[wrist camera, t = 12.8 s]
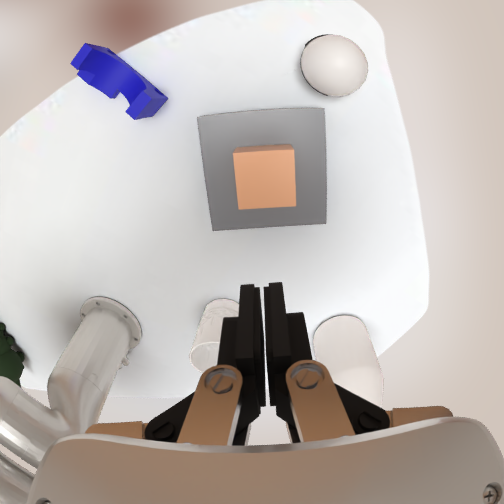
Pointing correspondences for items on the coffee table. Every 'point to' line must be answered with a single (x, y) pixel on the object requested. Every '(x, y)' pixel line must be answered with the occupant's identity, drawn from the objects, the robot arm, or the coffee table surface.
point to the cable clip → (118, 80)
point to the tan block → (265, 176)
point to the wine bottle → (350, 357)
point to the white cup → (211, 333)
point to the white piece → (333, 65)
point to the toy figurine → (10, 358)
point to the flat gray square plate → (255, 134)
